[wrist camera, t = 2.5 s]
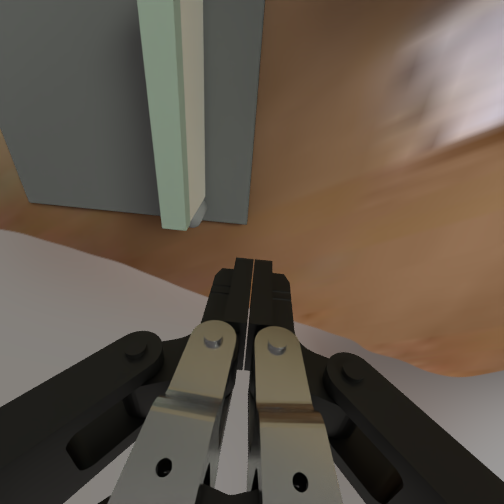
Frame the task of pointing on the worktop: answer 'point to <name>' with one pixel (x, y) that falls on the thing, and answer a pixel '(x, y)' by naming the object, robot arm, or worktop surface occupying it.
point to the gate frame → (120, 104)
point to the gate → (175, 103)
